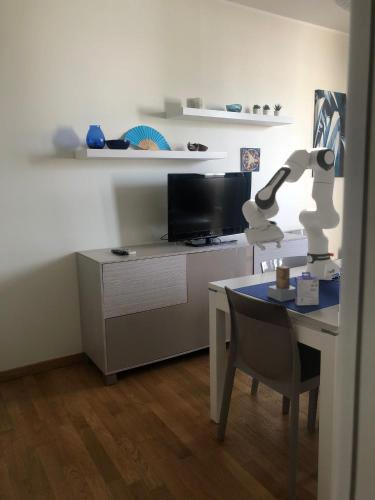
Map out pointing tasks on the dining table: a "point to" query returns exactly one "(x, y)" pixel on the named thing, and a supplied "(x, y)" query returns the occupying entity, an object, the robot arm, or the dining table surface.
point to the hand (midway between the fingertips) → (271, 248)
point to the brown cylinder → (283, 277)
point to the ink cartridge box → (306, 290)
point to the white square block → (281, 293)
